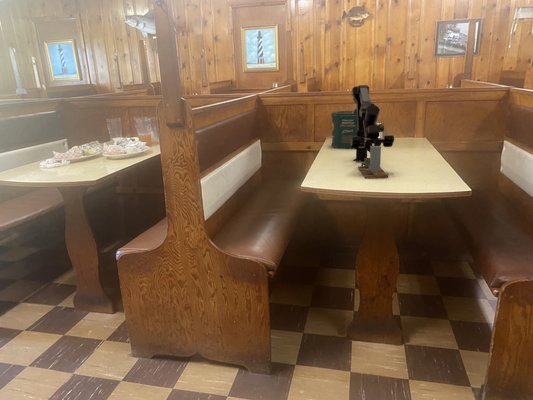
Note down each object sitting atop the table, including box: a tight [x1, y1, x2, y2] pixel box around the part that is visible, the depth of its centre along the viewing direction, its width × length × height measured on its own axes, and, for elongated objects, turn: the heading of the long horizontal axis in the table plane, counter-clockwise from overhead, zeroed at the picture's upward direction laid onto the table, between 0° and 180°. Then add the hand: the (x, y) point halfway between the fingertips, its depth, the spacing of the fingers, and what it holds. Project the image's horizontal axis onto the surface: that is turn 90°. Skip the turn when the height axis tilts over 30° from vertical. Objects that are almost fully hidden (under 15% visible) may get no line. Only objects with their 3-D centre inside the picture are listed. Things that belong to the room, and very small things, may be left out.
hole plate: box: [357, 157, 389, 179], centre depth 199 cm, size 20×10×5 cm, turn 178°
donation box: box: [331, 107, 358, 150], centre depth 264 cm, size 16×16×28 cm
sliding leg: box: [366, 145, 382, 173], centre depth 192 cm, size 3×6×12 cm, turn 88°
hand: (374, 157), depth 193 cm, fingers closed, pressing on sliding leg
